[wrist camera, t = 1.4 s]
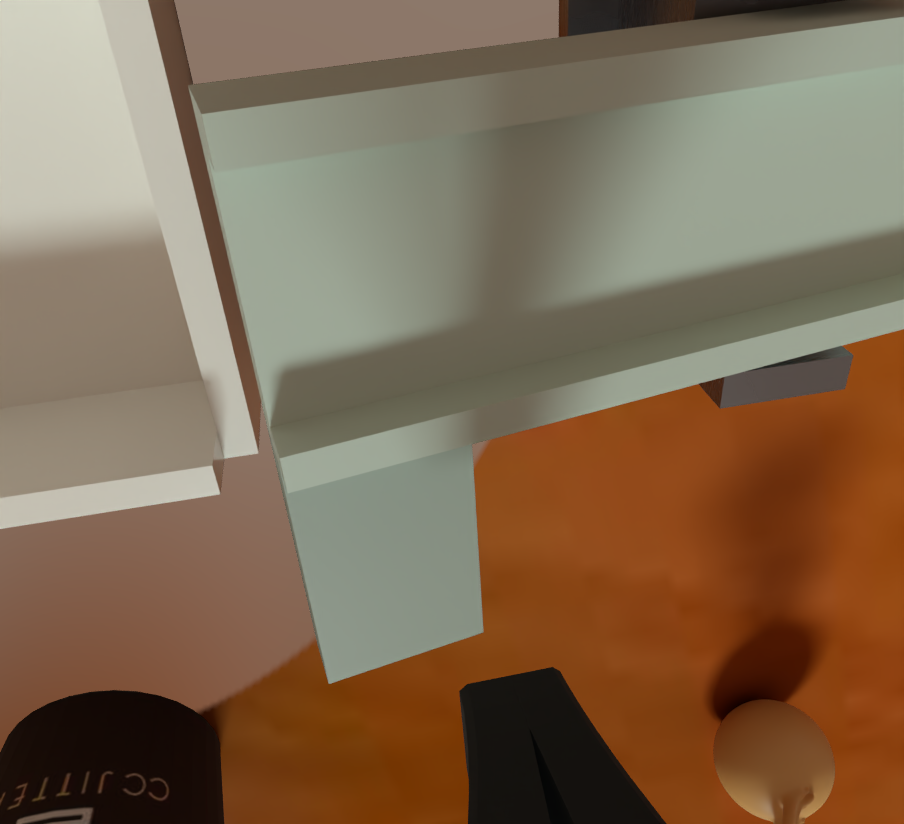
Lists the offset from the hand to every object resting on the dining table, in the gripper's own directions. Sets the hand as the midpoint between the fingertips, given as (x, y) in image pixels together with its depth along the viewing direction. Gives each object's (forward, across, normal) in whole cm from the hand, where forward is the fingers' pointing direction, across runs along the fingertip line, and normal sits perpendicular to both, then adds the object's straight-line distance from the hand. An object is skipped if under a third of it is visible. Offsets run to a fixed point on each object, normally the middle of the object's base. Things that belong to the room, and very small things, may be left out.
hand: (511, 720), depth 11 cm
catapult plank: (+5, -6, -3) cm, 9 cm away
